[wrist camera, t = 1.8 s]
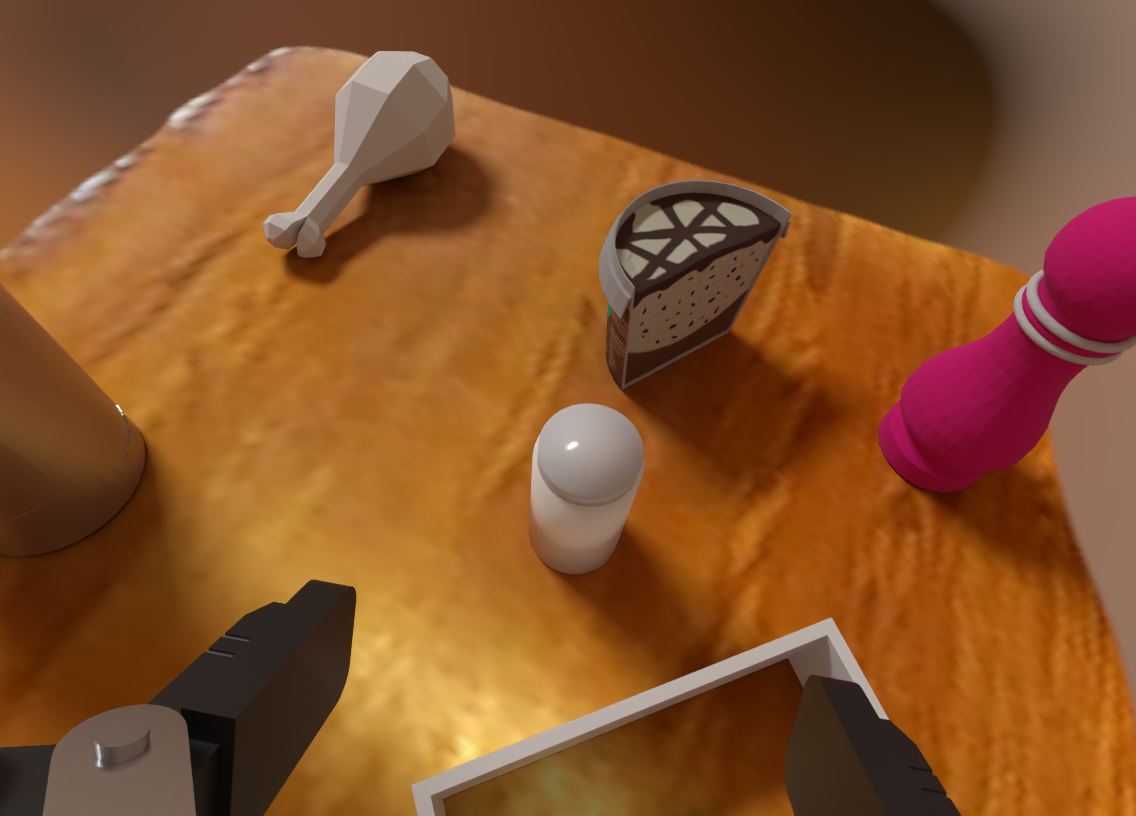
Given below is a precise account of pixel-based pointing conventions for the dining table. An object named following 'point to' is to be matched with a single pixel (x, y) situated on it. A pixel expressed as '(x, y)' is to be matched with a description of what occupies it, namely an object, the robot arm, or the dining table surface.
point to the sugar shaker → (583, 486)
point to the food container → (682, 270)
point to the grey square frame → (654, 708)
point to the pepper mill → (1020, 359)
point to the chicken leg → (373, 141)
